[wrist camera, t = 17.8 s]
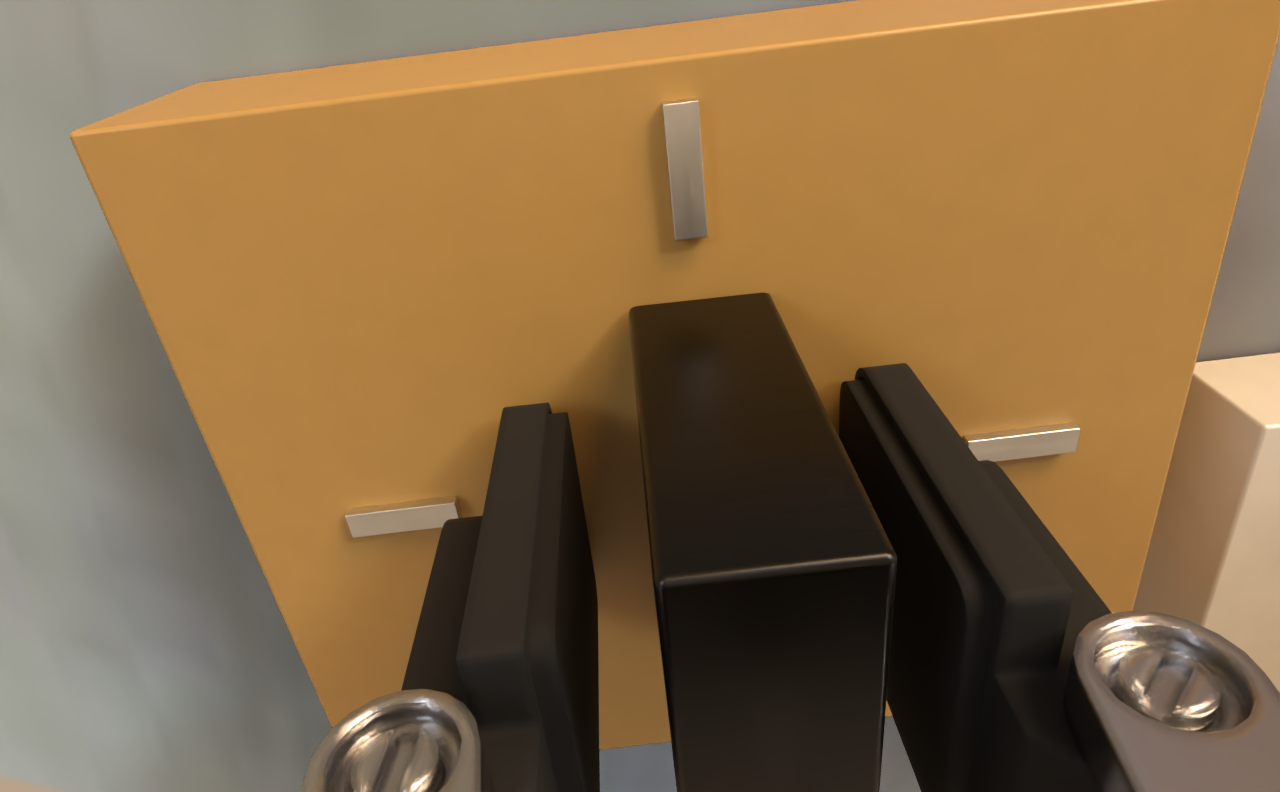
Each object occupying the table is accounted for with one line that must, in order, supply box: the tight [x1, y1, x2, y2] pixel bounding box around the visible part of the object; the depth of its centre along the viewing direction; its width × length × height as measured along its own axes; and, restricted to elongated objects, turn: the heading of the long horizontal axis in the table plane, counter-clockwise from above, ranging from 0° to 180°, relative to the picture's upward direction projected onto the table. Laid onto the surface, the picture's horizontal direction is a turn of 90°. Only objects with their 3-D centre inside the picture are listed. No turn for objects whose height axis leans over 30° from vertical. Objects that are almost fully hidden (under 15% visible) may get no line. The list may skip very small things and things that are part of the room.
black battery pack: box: [628, 292, 897, 792], centre depth 8 cm, size 5×2×5 cm, turn 5°
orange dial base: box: [70, 0, 1280, 750], centre depth 12 cm, size 12×10×3 cm
